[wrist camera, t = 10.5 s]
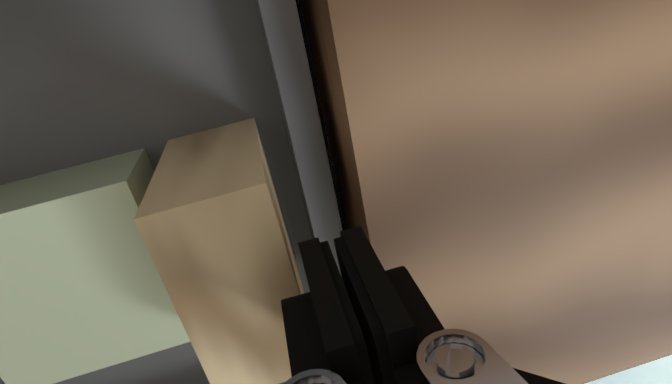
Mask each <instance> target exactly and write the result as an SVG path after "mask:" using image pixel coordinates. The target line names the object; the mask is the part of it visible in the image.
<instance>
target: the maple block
mask: <svg viewBox="0 0 672 384" xmlns="http://www.w3.org/2000/svg"><path fill="white" fill-rule="evenodd" d="M134 221H135V223H136V225H137V227H138V230H139V232H140V234H141V236H142V238H143V240H144V242H145V245H146V247H147V249H148V251H149V253H150V255H151V258H152V260H153V262H154V264H155V266H156V268H157V270H158V273H159V275H160V277H161V279H162V281H163V283H164V286H165V288H166V290H167V292H168V294H169V296H170V299H171V301H172V303H173V305H174V307H175V309H176V311H177V314H178V316H179V318H180V320H181V322H182V324H183V327H184V329H185V331H186V333H187V335H188V337H189V339H190V342H191V344H192V346H193V348H194V350H195V352H196V355H197V357H198V359H199V361H200V363H201V365H202V368H203V370H204V372H205V374H206V376H207V378H208V380H209V383H210V384H279V383H282V382H285V381H287V380H288V379H289V378H291V377H292V376H291V369H290V362H289V355H288V348H287V342H286V335H285V328H284V321H283V314H282V307H281V300H282V299H286V298H289V297H293V296H297V295H300V294H304V291H303V287H302V283H301V279H300V275H299V270H298V266H297V262H296V258H295V255H294V251H293V248H292V244H291V241H290V238H289V234H288V231H287V227H286V224H285V221H284V217H283V214H282V210H281V207H280V204H279V200H278V197H277V193H276V190H275V187H274V183H273V180H272V176H271V173H270V170H269V166H268V163H267V159H266V156H265V152H264V149H263V146H262V142H261V139H260V135H259V132H258V129H257V125H256V122H255V118H252V119H248V120H244V121H240V122H236V123H232V124H228V125H225V126H221V127H217V128H213V129H209V130H205V131H201V132H197V133H194V134H190V135H186V136H182V137H178V138H174V139H170V140H168V142H167V144H166V146H165V148H164V151H163V153H162V155H161V158H160V160H159V162H158V165H157V167H156V169H155V172H154V174H153V176H152V178H151V181H150V183H149V185H148V188H147V190H146V192H145V195H144V197H143V199H142V202H141V204H140V206H139V208H138V211H137V213H136V215H135V218H134Z"/></svg>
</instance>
